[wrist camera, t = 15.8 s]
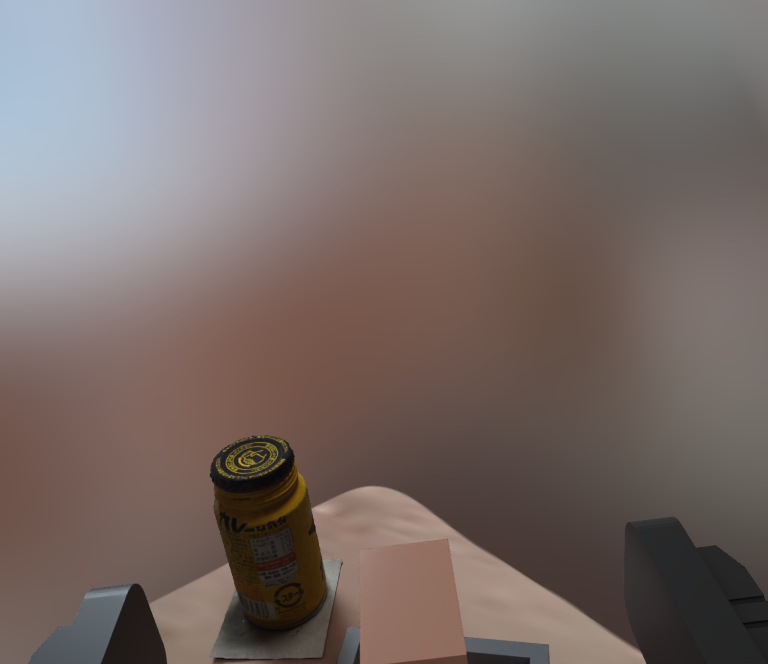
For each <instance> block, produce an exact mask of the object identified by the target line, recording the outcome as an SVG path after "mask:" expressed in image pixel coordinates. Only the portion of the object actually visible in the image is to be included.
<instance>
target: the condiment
mask: <svg viewBox="0 0 768 664" xmlns="http://www.w3.org/2000/svg"><path fill="white" fill-rule="evenodd" d="M294 457H295V456H294V454H293V450H292V449H291V448H290V446H289V443H288V442H286V441H285V440H283V439H280V438H278V437H273V436H268V435H264V436H252V437H248V438H244V439H241V440H238V441H236V442H234V443H232V444H231V445H229V446H227V447H225V448H224V449H223V450H221V451H220V453H219V454H217V456H216V457H215V458H214V460H213V462H212V464H211V473H210V477H211V478H212V482H213V483H214V491H215V494H214V495H215V501H214V513H215V516H216V520H217V524H218V527H219V530H220V535H221V537H222V541H223V544H224V548H225V551H226V556H227V559H228V562H229V566H230V569H231V573H232V576H233V580H234V584H235V588H236V591H235V593H234V596H233V598H232V601H231V603H230V606H229V609H228V611H227V613H226V615H225V619H224V622H223V624H222V627H221V630H220V633H219V636H218V638H217V640H216V642H215V644H214V648H213V650H212V653H211V656H210V657H223V658H238V659H241V658H248V659H276V660H277V659H282V658H301V659H302V658H322V655H323V650H324V644H325V640H326V635H327V629H328V625H329V619H330V615H331V610H332V606H333V602H334V597H335V591H336V587H337V582H338V577H339V572H340V566H341V559H329V560H328V559H327V560H322V556H321V552H320V547H319V542H318V537H317V534H316V528H315V524H314V519H313V515H312V511H311V504H310V500H309V495H308V489H307V487H306V484H305V482H304V479H303V477H302V476H301V475H300V474H299V473H298V468H297V465H296V463H295V460H294ZM243 621H244V622H243ZM299 628H302V629H301V630H300V631H298V629H299ZM295 632H297V634H296V635H293V633H295Z"/></svg>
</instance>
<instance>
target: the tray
mask: <svg viewBox="0 0 768 664" xmlns="http://www.w3.org/2000/svg"><path fill="white" fill-rule="evenodd" d="M464 641H465V647H466V653H467V661H468V664H550V661H549V645H548V644H537V643H525V642H514V641H503V640H492V639H481V638H470V637H464ZM336 664H360V627H349V626H348V629H347V632H346V635H345V638H344V641H343V644H342V647H341V650H340V653H339V656H338V659H337V662H336Z"/></svg>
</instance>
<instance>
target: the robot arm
mask: <svg viewBox="0 0 768 664" xmlns="http://www.w3.org/2000/svg"><path fill="white" fill-rule="evenodd" d="M624 600H625V607H626V612H627V616H628V620H629V623H630V626H631V629H632V631H633V634H634V636H635V639H636V641H637V643H638V645H639V648H640V650H641V652H642V655H643V657H644V659H645V661H646V664H768V601H765V598H764V594H763V593H762V591H761V590H760V589H759V587H758V586H757V584H756V583H755V581H754V580H753V578H752V577H751V576H750V574H749V573H748V571H747V570H746V568H745V567H744V566H742V565H741V564H740V563H738V562H737V561H736V560H735V559H733V558H732V557H731V556H729V555H728V554H727V553H725V552H724V551H723V550H721V549H720V548H719V547H717V546H716V545H715V546H708V547H700V548H696V547H695V546H694V544H693V542H692V541H691V539H690V538H689V536H688V535H687V533H686V531H685V529H684V528H683V526H682V525H681V523H680V522H679V521H678V519H676V518H675V517H667V518H658V519H651V520H643V521H635V522H628V523H627V524H626V527H625V551H624ZM28 664H167V659H166V652H165V648H164V645H163V642H162V639H161V636H160V634H159V631H158V628H157V626H156V623H155V620H154V617H153V615H152V612H151V609H150V607H149V604H148V601H147V599H146V596H145V593H144V591H143V589H142V587H141V586H140V585H139V584H129V585H121V586H113V587H106V588H97V589H92V590H90V591H89V592H88V593H87V594H86V596H85V598H84V600H83V602H82V604H81V606H80V609H79V611H78V613H77V615H76V618H75V620H74V622H73V624H72V625H69V626H61V627H57V628H56V630H55V631H54V632H53V633H52V634H51V635H50V636H49V637H48V638H47V640H46V641H45V642H44V643H43V644H42V645H41V646H40V647H39V648H38V650H37V651H36V652H35V653H34V654H33V655H32V657H31V659H30V661H29V663H28Z"/></svg>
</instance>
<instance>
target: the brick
mask: <svg viewBox="0 0 768 664" xmlns="http://www.w3.org/2000/svg"><path fill="white" fill-rule="evenodd" d="M360 664H468V661H467V653H466V647H465V641H464V635H463V628H462V622H461V616H460V610H459V604H458V598H457V592H456V585H455V579H454V573H453V567H452V561H451V555H450V549H449V542H448V539H443V540H435V541H427V542H418V543H410V544H402V545H394V546H386V547H378V548H369V549H361V550H360Z"/></svg>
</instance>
